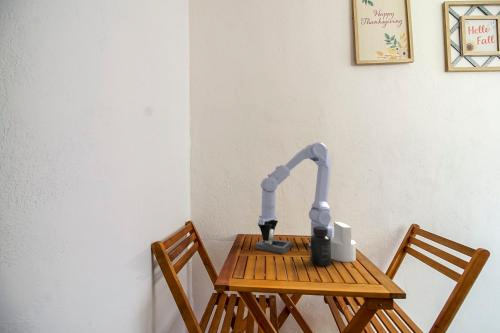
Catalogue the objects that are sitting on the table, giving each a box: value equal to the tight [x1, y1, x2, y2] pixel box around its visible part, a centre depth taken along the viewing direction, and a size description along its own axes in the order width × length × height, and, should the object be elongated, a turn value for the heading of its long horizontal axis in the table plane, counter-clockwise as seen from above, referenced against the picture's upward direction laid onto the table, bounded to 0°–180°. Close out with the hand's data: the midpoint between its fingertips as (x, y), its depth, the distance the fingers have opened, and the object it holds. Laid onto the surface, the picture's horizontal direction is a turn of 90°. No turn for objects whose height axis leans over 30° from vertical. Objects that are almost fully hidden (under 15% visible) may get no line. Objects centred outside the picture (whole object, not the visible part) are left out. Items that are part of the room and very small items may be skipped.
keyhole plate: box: [254, 238, 292, 255], centre depth 92 cm, size 12×10×2 cm
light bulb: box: [265, 229, 275, 245], centre depth 94 cm, size 4×4×7 cm
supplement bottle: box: [309, 227, 332, 268], centre depth 77 cm, size 7×7×12 cm
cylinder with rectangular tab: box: [331, 221, 357, 263], centre depth 83 cm, size 9×9×12 cm
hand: (268, 238), depth 94 cm, fingers closed on light bulb, 4 cm apart
